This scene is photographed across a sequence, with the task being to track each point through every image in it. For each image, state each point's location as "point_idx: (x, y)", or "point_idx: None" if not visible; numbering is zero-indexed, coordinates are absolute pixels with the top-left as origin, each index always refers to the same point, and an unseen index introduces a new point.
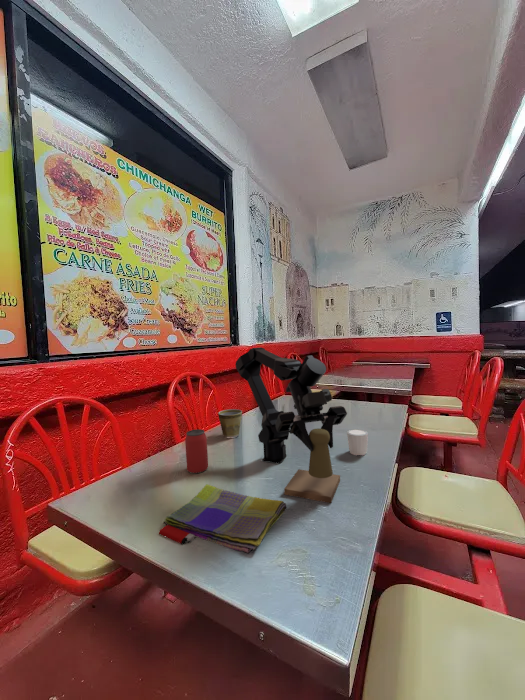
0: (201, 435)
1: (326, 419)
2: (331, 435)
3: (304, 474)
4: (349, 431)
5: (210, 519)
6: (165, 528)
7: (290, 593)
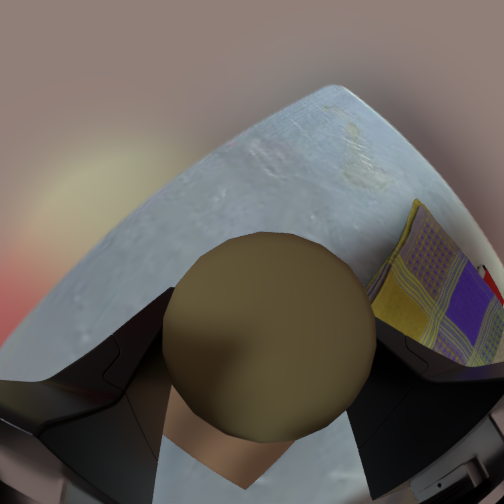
0: None
1: (80, 461)
2: (138, 321)
3: (241, 453)
4: None
5: (470, 303)
6: (501, 301)
7: (373, 135)
